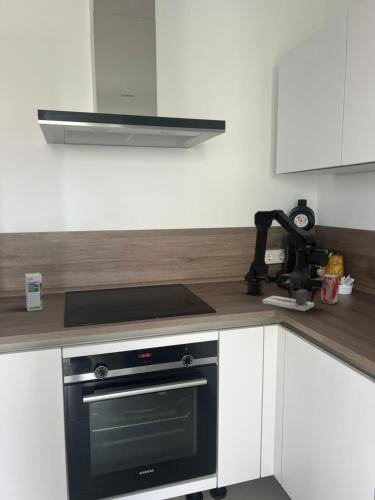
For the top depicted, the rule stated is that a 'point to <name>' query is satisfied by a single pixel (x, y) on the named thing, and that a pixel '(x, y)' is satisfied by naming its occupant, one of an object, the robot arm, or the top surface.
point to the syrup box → (34, 291)
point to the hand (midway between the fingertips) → (301, 300)
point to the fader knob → (301, 296)
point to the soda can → (330, 289)
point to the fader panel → (287, 303)
